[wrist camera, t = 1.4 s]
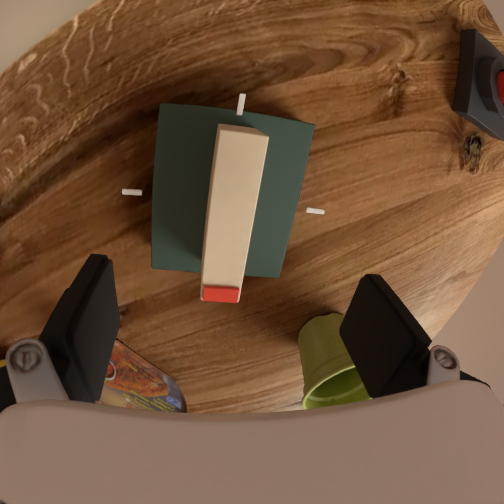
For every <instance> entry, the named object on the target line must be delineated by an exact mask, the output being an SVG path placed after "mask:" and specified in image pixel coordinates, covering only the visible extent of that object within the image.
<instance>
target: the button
mask: <svg viewBox="0 0 504 504" xmlns="http://www.w3.org/2000/svg"><path fill="white" fill-rule="evenodd" d="M496 84H497V90H498V96H499V98H500V100H501V102H502V103H503V104H504V72H502V71H500V72H499V73H498V74H497V83H496Z"/></svg>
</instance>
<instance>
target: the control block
mask: <svg viewBox="0 0 504 504" xmlns="http://www.w3.org/2000/svg"><path fill="white" fill-rule="evenodd" d="M500 71H502V72H504V56H503V55H502V54H501V53H500V52H499V51H498V50H497V49H496V48H495V47H494V46H493V45H492V44H491V43H490V42H489V41H488V40H487V39H486V38H485V37H484V36H483V35H482V34H480V33H479V32H478V31H477V30H476V29H465V30H461V45H460V58H459V68H458V77H457V85H456V91H455V98H454V104H453V111H454V112H456V113H458V114H459V115H461V116H462V117H464V118H465V119H467V120H468V121H470V122H471V123H473V124H474V125H476V126H477V127H479V128H480V129H481V130H483V131H484V132H486V133H487V134H488V135H490V136H491V137H493V138H496V139H499V140H502V141H504V104H503V103H502V102H501V100H500V98H499V96H498V90H497V84H496V83H497V74H498V73H499V72H500Z"/></svg>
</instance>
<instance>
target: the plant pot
mask: <svg viewBox="0 0 504 504" xmlns="http://www.w3.org/2000/svg"><path fill="white" fill-rule="evenodd" d="M343 319H344V316H343V315H341V314H338V313H331V314H329V315H325V316H317V317H315V318H313V319H311V320H310V321H309V322H307V323H306V324H305V325H304V326H303V327H302V329H301V330H300V332H299V336H298V345H299V351H300V357H301V363H302V370H303V376H304V384H305V385H304V389H303V392H304V396H303V398H302V408H303V410H305V409H313V408H321V407H329V406H335V405H342V404H348V403H354V402H359V401H364V400H369V399H371V397H369V395H368V393H367V391H366V389H365V387H364V385H363V382H362V380H361V378H360V376H359V374H358V372H357V370H356V368H355V366H354V364H353V362H352V359H351V357H350V355H349V353H348V351H347V349H346V347H345V345H344V343H343V341H342V339H341V337H340V335H339V328H340V325H341V323H342V321H343Z"/></svg>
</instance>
